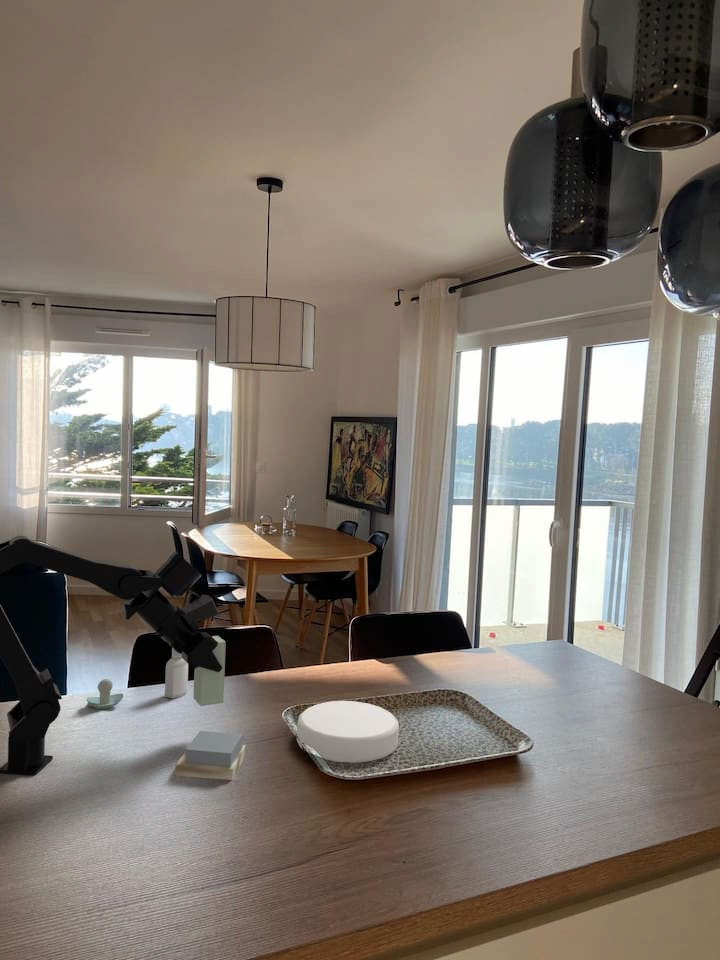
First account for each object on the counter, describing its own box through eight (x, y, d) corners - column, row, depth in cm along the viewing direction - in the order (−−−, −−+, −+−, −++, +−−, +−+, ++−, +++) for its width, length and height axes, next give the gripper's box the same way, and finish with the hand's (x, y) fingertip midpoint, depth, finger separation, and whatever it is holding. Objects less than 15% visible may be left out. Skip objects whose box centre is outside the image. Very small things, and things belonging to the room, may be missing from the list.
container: (276, 746, 138) (277, 722, 137) (328, 713, 155) (329, 692, 155) (369, 773, 129) (371, 748, 128) (414, 735, 146) (415, 713, 146)
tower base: (232, 783, 123) (232, 769, 123) (175, 779, 124) (175, 765, 124) (245, 758, 133) (245, 744, 133) (192, 754, 134) (192, 741, 134)
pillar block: (223, 702, 140) (225, 641, 139) (200, 706, 137) (203, 644, 137) (215, 695, 143) (217, 635, 143) (193, 698, 141) (195, 638, 141)
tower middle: (230, 767, 124) (230, 753, 124) (185, 763, 125) (185, 749, 124) (242, 747, 132) (242, 734, 132) (199, 744, 132) (200, 730, 132)
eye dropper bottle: (191, 695, 161) (193, 643, 161) (167, 700, 158) (169, 646, 157) (184, 689, 165) (186, 638, 164) (160, 693, 162) (162, 641, 161)
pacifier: (83, 704, 154) (88, 713, 149) (84, 675, 154) (88, 683, 149) (118, 699, 158) (124, 708, 152) (119, 671, 158) (125, 679, 152)
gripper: (209, 593, 129) (263, 647, 135) (178, 574, 145) (228, 623, 151) (163, 641, 125) (221, 694, 132) (137, 615, 141) (190, 664, 148)
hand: (216, 666), depth 141 cm, fingers closed on pillar block, 4 cm apart
